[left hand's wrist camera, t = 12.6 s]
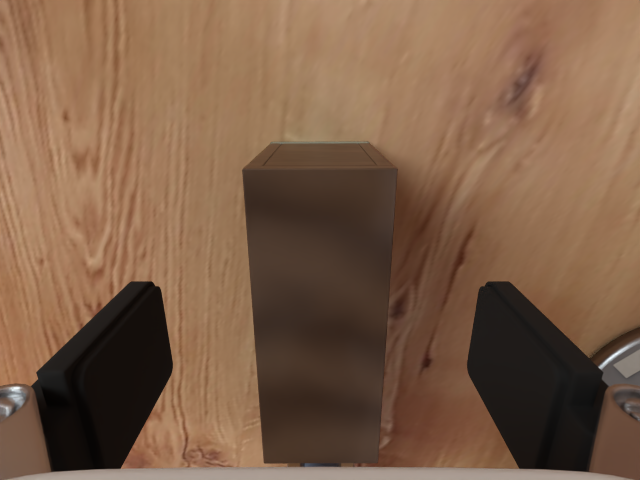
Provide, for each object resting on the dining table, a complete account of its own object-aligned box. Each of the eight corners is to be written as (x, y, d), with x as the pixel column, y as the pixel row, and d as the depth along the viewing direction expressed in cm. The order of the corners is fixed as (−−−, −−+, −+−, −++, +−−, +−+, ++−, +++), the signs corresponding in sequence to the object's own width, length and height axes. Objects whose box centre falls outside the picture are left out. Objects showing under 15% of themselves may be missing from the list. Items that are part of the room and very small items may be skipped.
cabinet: (360, 350, 32) (378, 463, 22) (281, 350, 32) (263, 463, 22) (368, 141, 26) (398, 168, 16) (271, 141, 26) (241, 168, 16)
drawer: (349, 489, 36) (358, 604, 28) (292, 489, 36) (284, 604, 28) (356, 282, 29) (370, 356, 21) (284, 282, 29) (270, 356, 21)
